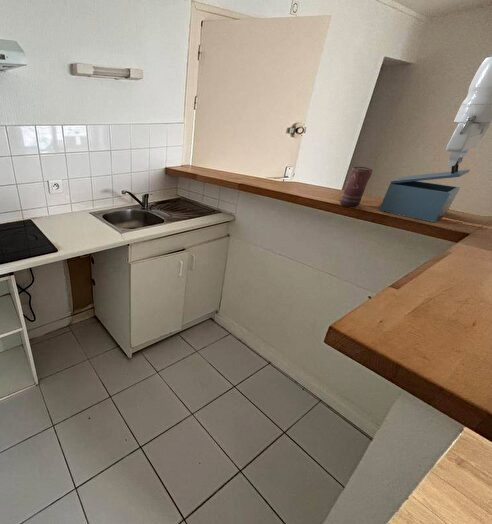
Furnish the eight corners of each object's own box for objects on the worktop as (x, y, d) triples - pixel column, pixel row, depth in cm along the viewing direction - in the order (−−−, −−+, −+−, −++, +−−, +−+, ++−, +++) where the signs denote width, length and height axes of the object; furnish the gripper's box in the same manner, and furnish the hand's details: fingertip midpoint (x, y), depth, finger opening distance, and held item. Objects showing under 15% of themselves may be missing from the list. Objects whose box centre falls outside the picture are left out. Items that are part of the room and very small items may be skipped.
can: (359, 208, 106) (374, 170, 99) (339, 205, 109) (352, 168, 102) (358, 204, 110) (372, 167, 103) (339, 201, 113) (352, 165, 106)
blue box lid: (469, 171, 91) (471, 155, 90) (459, 176, 85) (461, 159, 84) (403, 178, 105) (403, 164, 104) (390, 183, 99) (390, 168, 98)
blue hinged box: (445, 215, 99) (460, 187, 94) (434, 222, 92) (450, 193, 88) (391, 204, 110) (402, 178, 105) (378, 210, 104) (389, 183, 99)
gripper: (485, 116, 76) (459, 169, 82) (499, 114, 86) (475, 161, 92) (453, 116, 80) (430, 167, 87) (470, 114, 90) (448, 159, 97)
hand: (453, 164), depth 90 cm, fingers closed on blue box lid, 5 cm apart
